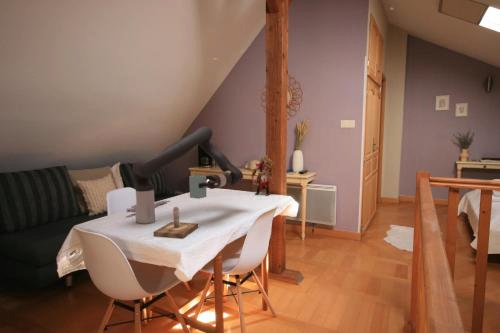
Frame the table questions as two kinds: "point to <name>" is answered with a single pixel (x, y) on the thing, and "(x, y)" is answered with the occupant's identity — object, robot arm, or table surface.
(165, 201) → the adjustable rod
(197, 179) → the collar
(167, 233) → the peg board
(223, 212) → the table surface
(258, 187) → the figurine
